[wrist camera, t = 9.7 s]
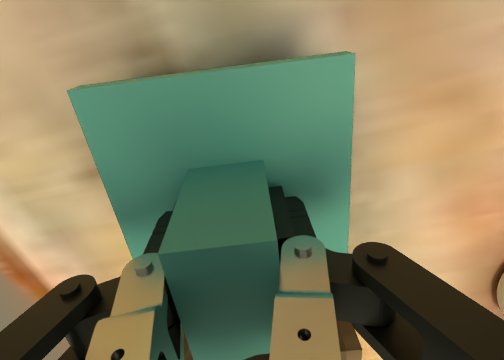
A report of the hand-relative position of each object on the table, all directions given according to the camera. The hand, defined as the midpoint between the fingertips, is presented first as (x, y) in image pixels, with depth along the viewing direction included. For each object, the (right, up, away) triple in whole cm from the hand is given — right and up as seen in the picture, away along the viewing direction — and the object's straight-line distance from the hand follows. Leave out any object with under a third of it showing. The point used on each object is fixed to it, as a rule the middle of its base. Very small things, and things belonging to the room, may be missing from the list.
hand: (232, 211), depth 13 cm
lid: (0, +1, +2) cm, 2 cm away
